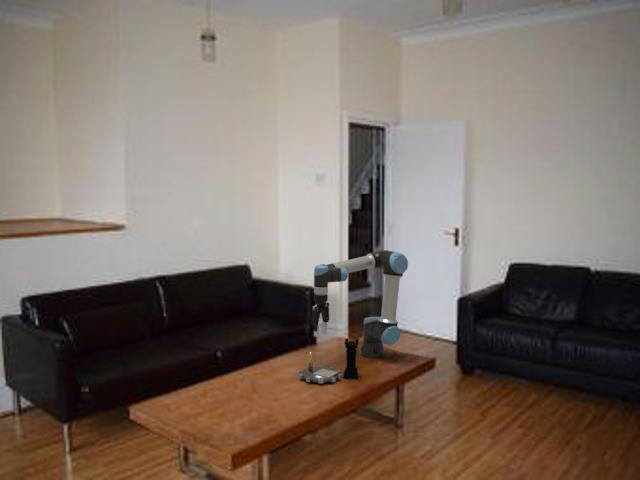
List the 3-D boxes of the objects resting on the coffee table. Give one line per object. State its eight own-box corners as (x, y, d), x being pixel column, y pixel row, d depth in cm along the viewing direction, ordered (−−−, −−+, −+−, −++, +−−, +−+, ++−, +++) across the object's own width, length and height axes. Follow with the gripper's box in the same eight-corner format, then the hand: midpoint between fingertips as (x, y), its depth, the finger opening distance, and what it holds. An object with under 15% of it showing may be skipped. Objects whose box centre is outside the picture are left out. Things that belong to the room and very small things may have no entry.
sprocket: (315, 366, 325) (315, 345, 324) (349, 374, 313) (349, 352, 311) (290, 377, 306) (290, 355, 305) (325, 386, 294) (326, 363, 292)
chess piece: (358, 374, 316) (359, 338, 314) (358, 379, 308) (358, 343, 306) (343, 373, 317) (344, 338, 315) (343, 378, 309) (343, 342, 307)
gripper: (325, 290, 325) (324, 330, 327) (304, 295, 309) (304, 337, 311) (336, 291, 321) (335, 332, 323) (316, 297, 305) (315, 340, 307)
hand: (320, 334), depth 317 cm, fingers open, 7 cm apart
